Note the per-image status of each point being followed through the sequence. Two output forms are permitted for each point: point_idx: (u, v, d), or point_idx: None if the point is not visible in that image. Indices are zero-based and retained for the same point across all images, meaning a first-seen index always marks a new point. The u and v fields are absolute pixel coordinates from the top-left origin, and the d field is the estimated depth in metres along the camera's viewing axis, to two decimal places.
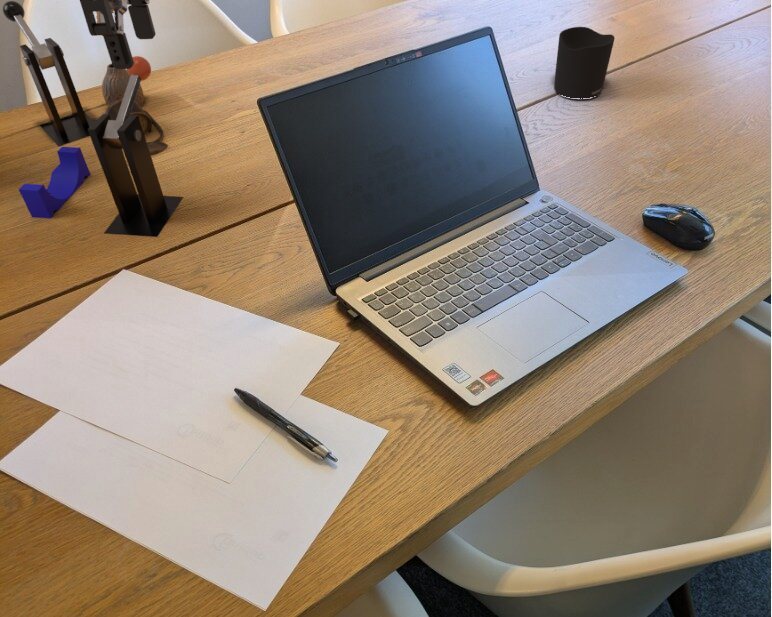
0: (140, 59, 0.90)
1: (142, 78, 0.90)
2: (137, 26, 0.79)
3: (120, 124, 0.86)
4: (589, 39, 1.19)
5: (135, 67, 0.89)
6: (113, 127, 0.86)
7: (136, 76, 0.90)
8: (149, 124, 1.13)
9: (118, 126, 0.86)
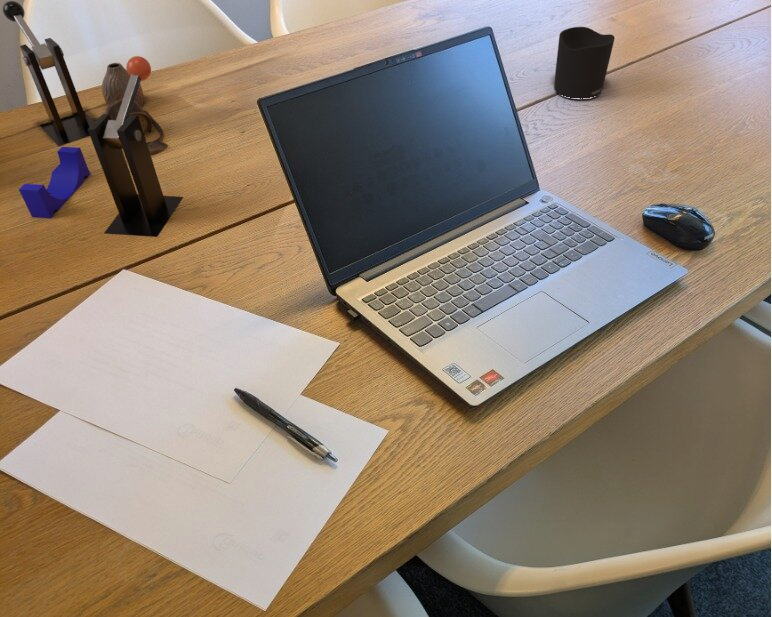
0: (140, 59, 0.90)
1: (142, 78, 0.90)
2: None
3: (120, 124, 0.86)
4: (589, 39, 1.19)
5: (135, 67, 0.89)
6: (113, 127, 0.86)
7: (136, 76, 0.90)
8: (149, 124, 1.13)
9: (118, 126, 0.86)
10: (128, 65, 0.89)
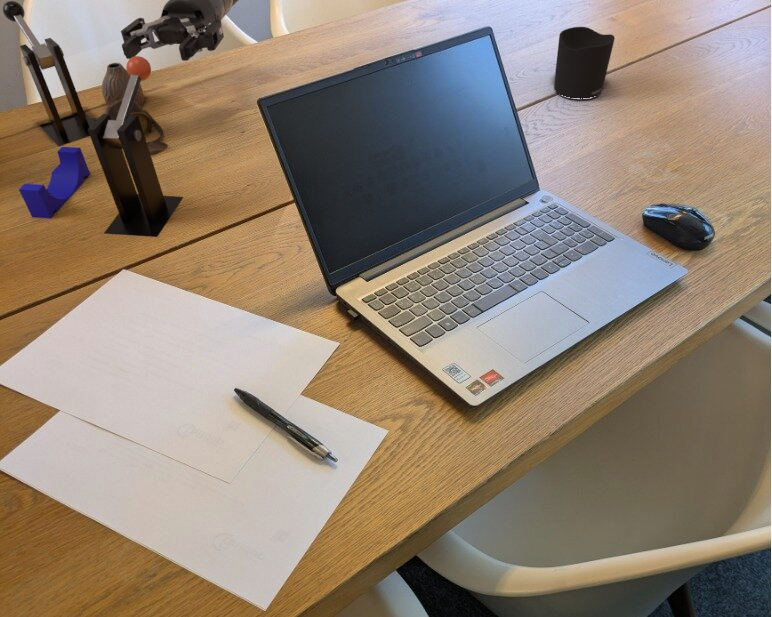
0: (140, 59, 0.90)
1: (142, 78, 0.90)
2: (131, 44, 0.96)
3: (120, 124, 0.86)
4: (589, 39, 1.19)
5: (135, 67, 0.89)
6: (113, 127, 0.86)
7: (136, 76, 0.90)
8: (149, 124, 1.13)
9: (118, 126, 0.86)
10: (128, 65, 0.89)
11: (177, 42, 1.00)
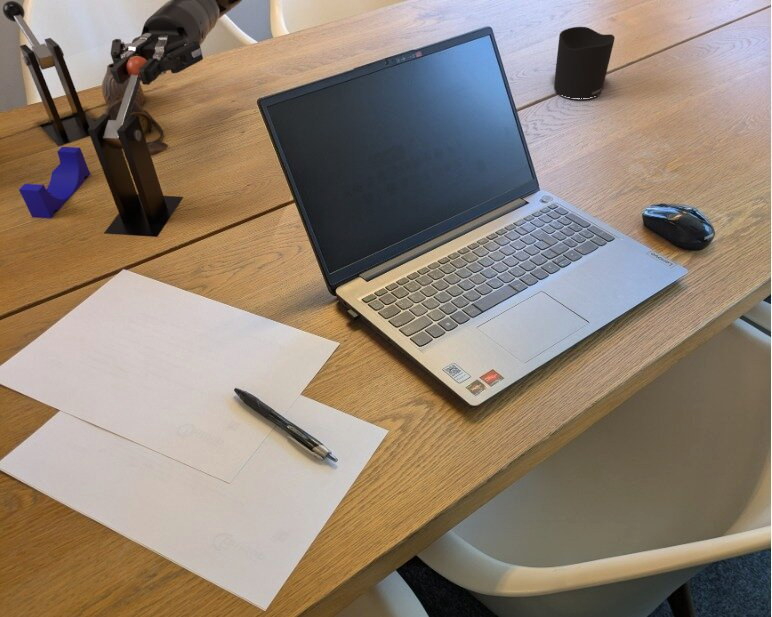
0: (140, 59, 0.90)
1: None
2: (122, 68, 0.89)
3: (120, 124, 0.86)
4: (589, 39, 1.19)
5: (135, 67, 0.89)
6: (113, 127, 0.86)
7: (136, 76, 0.90)
8: (149, 124, 1.13)
9: (118, 126, 0.86)
10: (128, 65, 0.89)
11: None
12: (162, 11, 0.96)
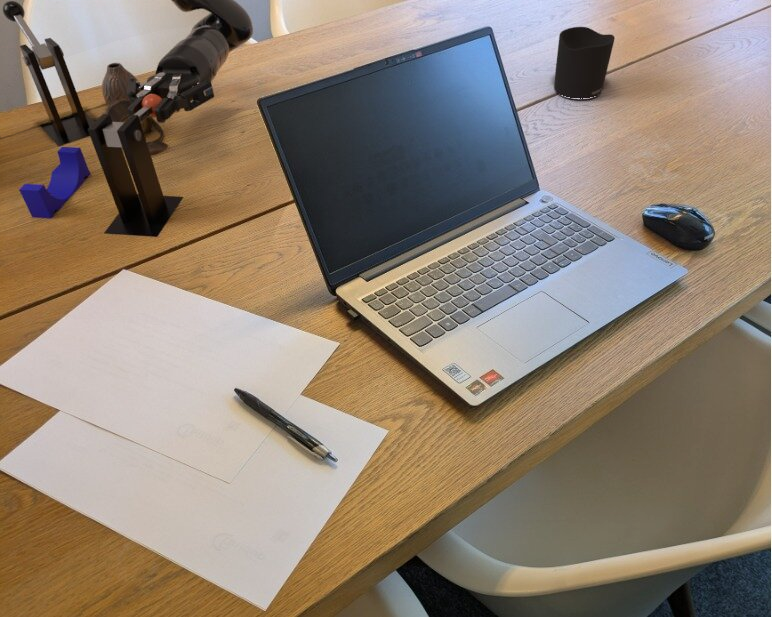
0: (157, 95, 0.95)
1: (154, 111, 0.94)
2: (138, 107, 0.94)
3: None
4: (589, 39, 1.19)
5: (151, 99, 0.94)
6: (115, 125, 0.86)
7: (149, 106, 0.94)
8: (149, 124, 1.13)
9: (121, 124, 0.86)
10: (144, 98, 0.94)
11: None
12: (175, 51, 1.01)
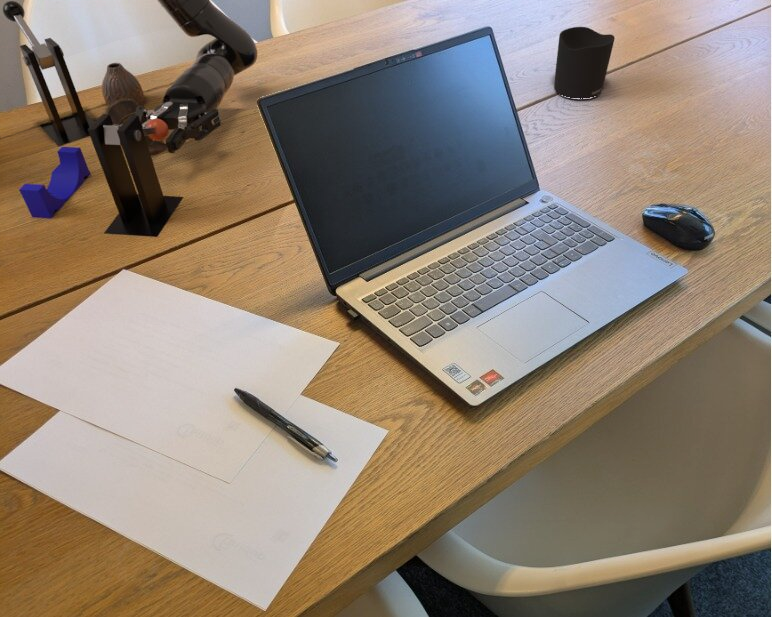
0: (162, 120, 0.97)
1: (157, 133, 0.96)
2: None
3: None
4: (589, 39, 1.19)
5: (155, 121, 0.96)
6: None
7: (153, 127, 0.95)
8: None
9: None
10: (149, 121, 0.96)
11: None
12: (182, 81, 1.04)
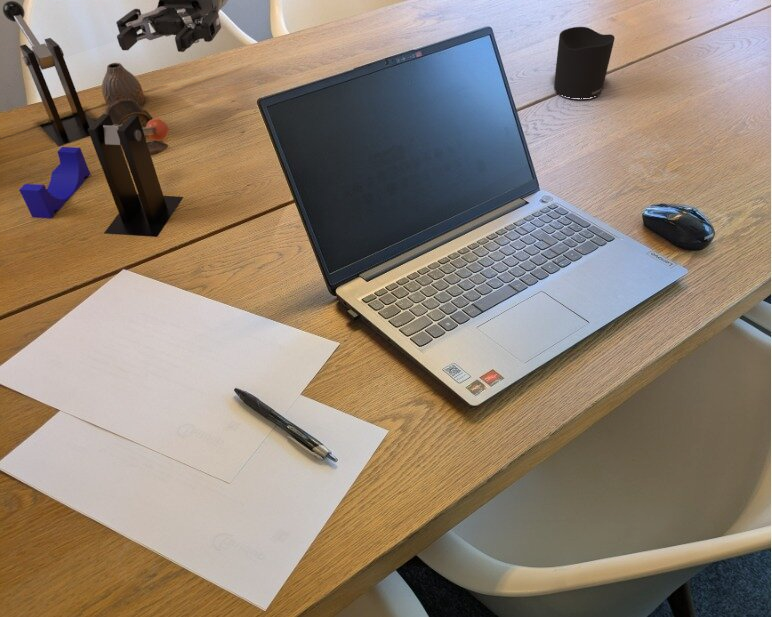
0: (162, 120, 0.97)
1: (157, 133, 0.96)
2: (127, 35, 0.94)
3: None
4: (589, 39, 1.19)
5: (155, 121, 0.96)
6: None
7: (153, 127, 0.95)
8: None
9: None
10: (149, 121, 0.96)
11: (173, 33, 0.98)
12: None
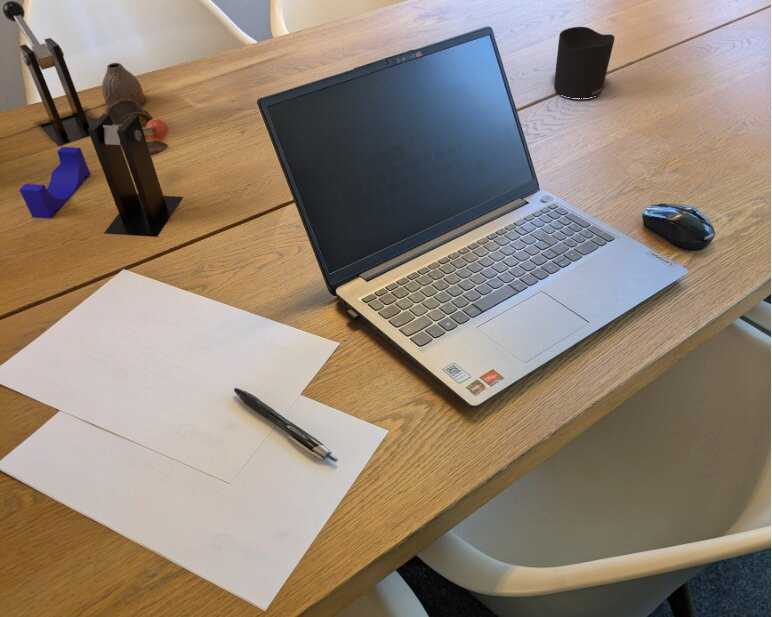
0: (162, 120, 0.97)
1: (157, 133, 0.96)
2: None
3: None
4: (589, 39, 1.19)
5: (155, 121, 0.96)
6: None
7: (153, 127, 0.95)
8: None
9: None
10: (149, 121, 0.96)
11: None
12: None
